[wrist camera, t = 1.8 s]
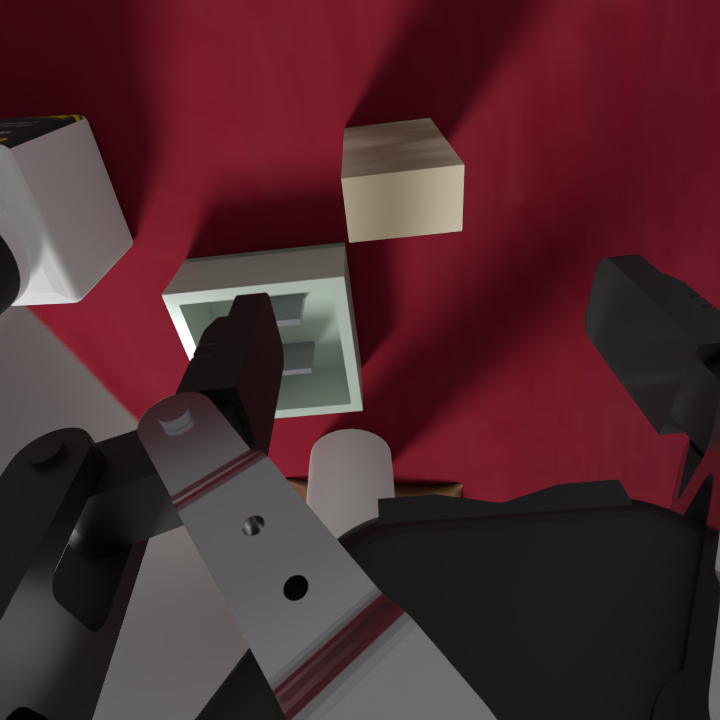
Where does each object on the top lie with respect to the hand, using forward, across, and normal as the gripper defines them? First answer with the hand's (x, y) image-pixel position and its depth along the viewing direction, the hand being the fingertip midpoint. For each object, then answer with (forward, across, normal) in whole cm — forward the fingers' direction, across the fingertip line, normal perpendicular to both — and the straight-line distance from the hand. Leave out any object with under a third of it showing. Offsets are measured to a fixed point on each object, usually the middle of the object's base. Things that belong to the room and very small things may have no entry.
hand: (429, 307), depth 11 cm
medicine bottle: (+17, +19, 0) cm, 25 cm away
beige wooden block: (+16, 0, 0) cm, 17 cm away
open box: (+16, +8, +10) cm, 21 cm away
